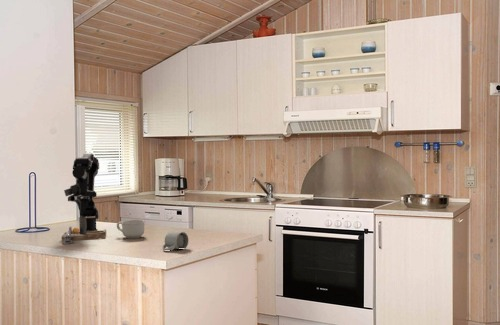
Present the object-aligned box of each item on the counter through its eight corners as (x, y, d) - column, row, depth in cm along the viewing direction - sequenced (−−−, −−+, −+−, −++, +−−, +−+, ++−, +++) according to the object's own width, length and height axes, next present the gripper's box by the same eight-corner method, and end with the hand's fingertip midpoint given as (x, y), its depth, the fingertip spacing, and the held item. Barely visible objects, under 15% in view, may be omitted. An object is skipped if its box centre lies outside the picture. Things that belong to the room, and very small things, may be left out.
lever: (62, 237, 243) (62, 218, 243) (67, 231, 258) (66, 214, 258) (86, 236, 245) (85, 217, 245) (89, 230, 260) (88, 213, 260)
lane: (61, 240, 252) (61, 234, 252) (64, 237, 261) (64, 231, 261) (105, 238, 256) (105, 232, 256) (106, 235, 265) (106, 229, 265)
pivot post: (61, 244, 242) (60, 238, 242) (62, 242, 247) (62, 236, 247) (72, 243, 243) (72, 237, 243) (73, 241, 248) (73, 235, 248)
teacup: (149, 236, 260) (148, 220, 259) (135, 240, 250) (135, 223, 249) (126, 234, 265) (125, 218, 265) (112, 238, 256) (111, 222, 255)
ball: (77, 233, 260) (77, 226, 260) (80, 234, 257) (80, 227, 257) (71, 234, 258) (71, 227, 258) (74, 235, 255) (73, 228, 255)
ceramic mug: (175, 246, 233) (174, 229, 233) (189, 248, 229) (188, 230, 228) (158, 251, 225) (157, 233, 224) (172, 253, 220) (171, 235, 220)
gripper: (58, 184, 263) (57, 215, 260) (75, 177, 250) (74, 210, 247) (79, 185, 271) (78, 216, 267) (97, 179, 258) (96, 211, 254)
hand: (81, 213), depth 259 cm, fingers closed
